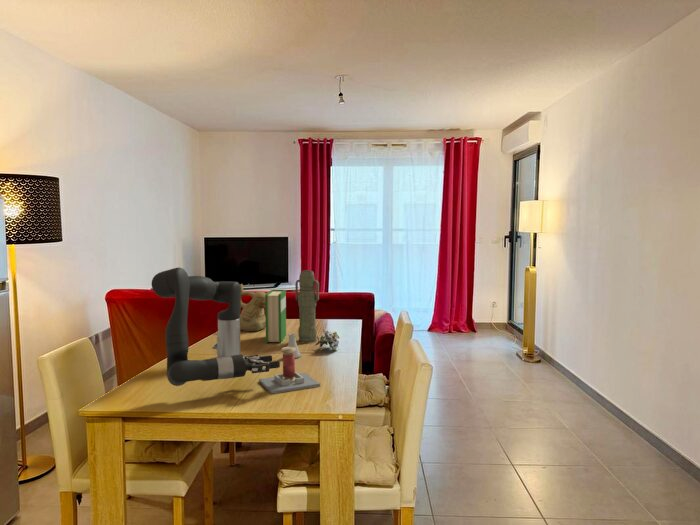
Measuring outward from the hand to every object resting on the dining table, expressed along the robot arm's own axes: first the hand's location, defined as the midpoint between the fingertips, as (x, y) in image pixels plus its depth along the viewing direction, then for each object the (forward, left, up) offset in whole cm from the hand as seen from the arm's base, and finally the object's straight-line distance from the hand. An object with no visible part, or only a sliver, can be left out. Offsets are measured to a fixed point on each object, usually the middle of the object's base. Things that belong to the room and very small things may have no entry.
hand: (275, 361), depth 176 cm
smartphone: (-33, +63, -10) cm, 72 cm away
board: (+5, +2, -9) cm, 10 cm away
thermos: (+8, +69, -9) cm, 70 cm away
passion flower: (+18, +50, -9) cm, 54 cm away
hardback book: (-8, +73, -9) cm, 74 cm away
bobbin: (+4, +2, -8) cm, 9 cm away
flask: (+3, +39, -9) cm, 40 cm away
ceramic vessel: (-24, +98, -9) cm, 102 cm away
